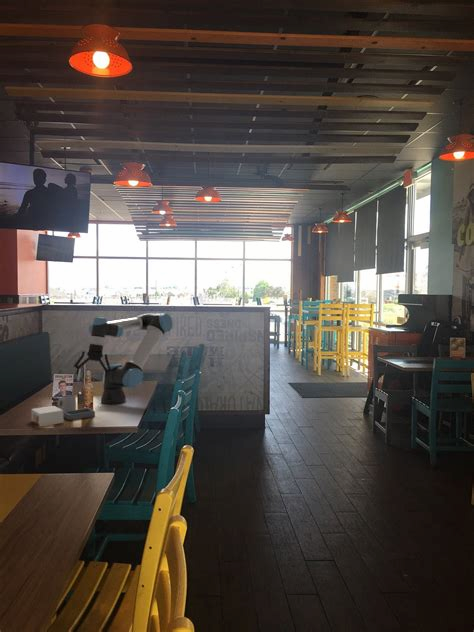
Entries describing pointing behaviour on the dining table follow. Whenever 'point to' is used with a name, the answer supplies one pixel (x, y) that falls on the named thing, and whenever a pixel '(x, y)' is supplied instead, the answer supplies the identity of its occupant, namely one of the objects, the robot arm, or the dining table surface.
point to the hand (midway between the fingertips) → (90, 382)
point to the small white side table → (47, 415)
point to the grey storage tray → (78, 414)
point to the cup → (67, 403)
